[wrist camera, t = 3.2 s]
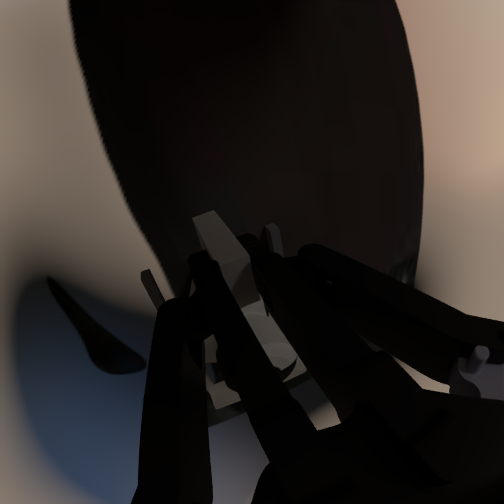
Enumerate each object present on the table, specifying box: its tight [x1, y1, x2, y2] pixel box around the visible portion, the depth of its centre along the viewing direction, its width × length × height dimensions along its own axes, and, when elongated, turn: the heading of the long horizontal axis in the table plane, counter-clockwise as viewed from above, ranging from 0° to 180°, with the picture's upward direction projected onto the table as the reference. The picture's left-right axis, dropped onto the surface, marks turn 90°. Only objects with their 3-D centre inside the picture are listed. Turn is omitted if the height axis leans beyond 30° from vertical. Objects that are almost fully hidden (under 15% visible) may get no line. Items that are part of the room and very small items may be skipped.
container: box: [189, 279, 297, 393], centre depth 26 cm, size 8×8×13 cm
